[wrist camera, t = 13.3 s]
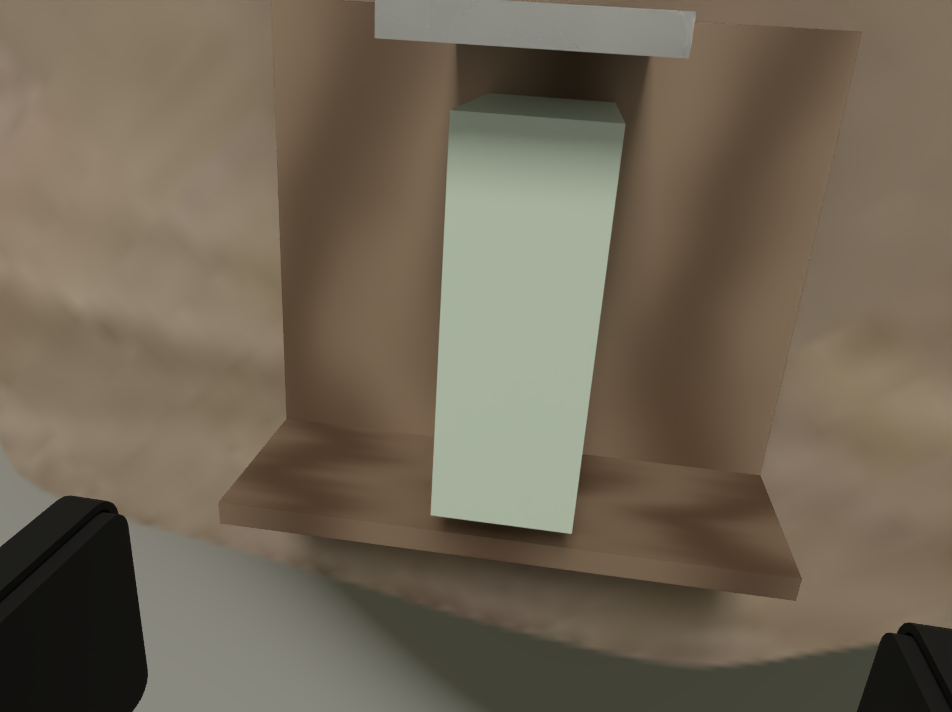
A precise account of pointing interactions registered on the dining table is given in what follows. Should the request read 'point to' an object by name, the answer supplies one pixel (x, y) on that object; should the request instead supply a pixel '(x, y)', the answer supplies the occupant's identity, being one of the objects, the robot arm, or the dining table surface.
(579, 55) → the shelf
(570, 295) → the book
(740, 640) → the dining table surface
